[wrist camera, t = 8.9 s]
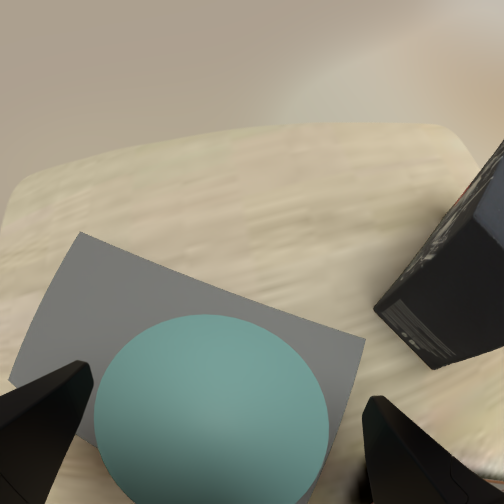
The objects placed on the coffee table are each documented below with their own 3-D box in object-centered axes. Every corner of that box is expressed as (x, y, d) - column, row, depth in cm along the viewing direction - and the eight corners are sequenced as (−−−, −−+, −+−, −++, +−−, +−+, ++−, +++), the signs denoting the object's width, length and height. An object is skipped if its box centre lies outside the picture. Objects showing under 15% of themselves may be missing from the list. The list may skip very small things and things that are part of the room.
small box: (446, 208, 24) (517, 115, 13) (494, 259, 22) (578, 184, 11) (368, 308, 20) (475, 211, 9) (431, 373, 18) (566, 328, 7)
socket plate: (290, 514, 14) (296, 526, 12) (24, 383, 16) (8, 380, 14) (354, 345, 19) (365, 339, 17) (91, 244, 21) (80, 231, 20)
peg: (252, 445, 16) (277, 555, 3) (189, 421, 16) (67, 467, 4) (276, 386, 17) (358, 358, 5) (213, 363, 18) (147, 281, 5)
